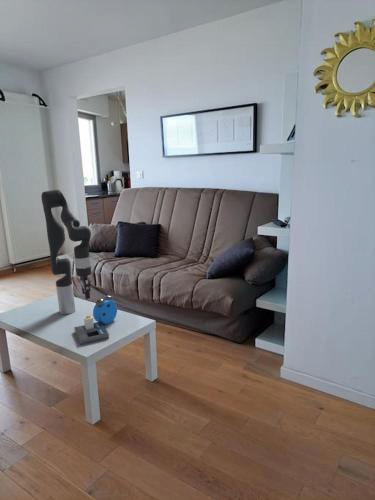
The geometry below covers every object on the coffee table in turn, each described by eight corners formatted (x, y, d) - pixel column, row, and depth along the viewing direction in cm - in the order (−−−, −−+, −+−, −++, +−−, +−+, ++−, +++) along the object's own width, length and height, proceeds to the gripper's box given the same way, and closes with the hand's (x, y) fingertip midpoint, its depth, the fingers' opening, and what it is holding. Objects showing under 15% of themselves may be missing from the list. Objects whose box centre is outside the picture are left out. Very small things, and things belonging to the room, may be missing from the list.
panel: (74, 332, 182) (74, 327, 182) (101, 326, 189) (100, 321, 188) (80, 346, 168) (80, 340, 167) (109, 339, 174) (108, 333, 173)
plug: (85, 331, 183) (83, 315, 181) (92, 329, 184) (91, 313, 183) (86, 333, 179) (84, 317, 177) (94, 332, 181) (92, 316, 179)
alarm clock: (110, 317, 200) (108, 292, 197) (118, 319, 197) (116, 294, 194) (93, 325, 190) (91, 300, 187) (101, 328, 186) (99, 302, 183)
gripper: (73, 263, 179) (76, 293, 182) (77, 270, 166) (81, 301, 170) (87, 261, 182) (90, 290, 186) (93, 267, 170) (96, 299, 173)
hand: (86, 296), depth 178 cm, fingers open, 8 cm apart
